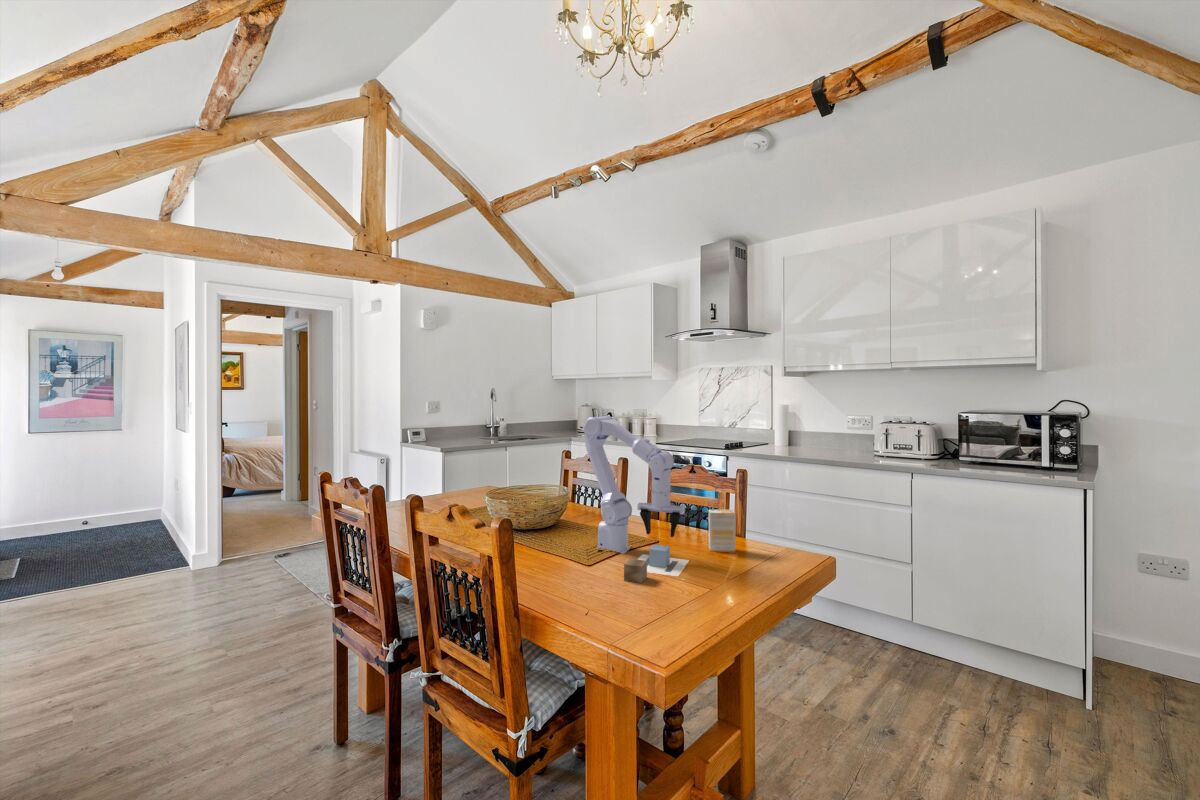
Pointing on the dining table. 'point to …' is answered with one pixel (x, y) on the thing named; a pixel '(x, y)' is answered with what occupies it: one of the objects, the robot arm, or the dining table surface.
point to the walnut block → (635, 570)
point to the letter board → (672, 568)
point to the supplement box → (722, 530)
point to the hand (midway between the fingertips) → (660, 534)
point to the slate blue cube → (659, 556)
